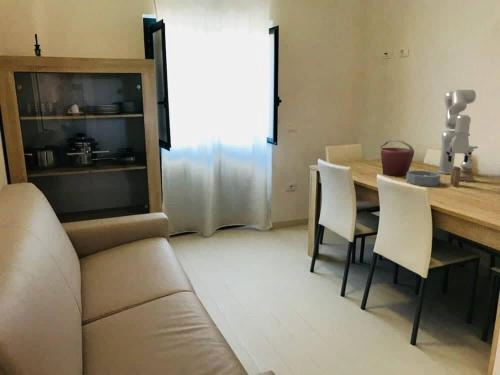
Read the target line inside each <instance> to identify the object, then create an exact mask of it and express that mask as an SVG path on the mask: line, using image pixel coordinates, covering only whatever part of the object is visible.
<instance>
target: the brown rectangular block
mask: <svg viewBox="0 0 500 375" xmlns="http://www.w3.org/2000/svg"><path fill="white" fill-rule="evenodd" d="M461 169H462V167H461V166H460V167H459V166H452V173H451V174H450V182H449V184H450V185H451V186H452V185H453V187H459V185H460V181H459V179H460V173H462V172H461Z"/></svg>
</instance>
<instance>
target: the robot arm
mask: <svg viewBox="0 0 500 375" xmlns="http://www.w3.org/2000/svg"><path fill="white" fill-rule="evenodd" d="M476 98H477V93H476V91H475V90H474V89H456V90H455V91H448V92H446V94H444V103H445V108H446V112H445V122H444V123H445V128H446V129H448V130H446V131H443V132H442V134H441V149H440V150H441V151H440V158H439V166H438V169H436V172H435V173H438V174H440V175H442V174H443V175H451V173H452V166H454V163H455V158H456V154H463V156H464V154H465V156H464V157H463V161H464V162H466V163H467V161H468V156H469V155H470V154H472V153H473V152H474V150H475V149H472V148H470V147H469V145H470V142H469V141H470V140H469V136H471V134H470V127H471V121H472V120H471V117H470V116H469V115H468V114H460V113H463V111H465V110H466V109H467V107H468V106H467V105H469V104H473V103H474V102H475V101H476ZM468 149H469V150H470V152H469V153H468ZM472 155H473V154H472Z"/></svg>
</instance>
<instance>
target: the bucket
mask: <svg viewBox="0 0 500 375" xmlns="http://www.w3.org/2000/svg"><path fill="white" fill-rule="evenodd" d="M390 142H397V143H398V142H399V143H401V144H403V145H405V146H406V147H408V148H405V147H383V146H386V145H387V144H389V143H390ZM380 149H381V150H380V157H381V167H382V175H383V176H388V177H394V178H395V177H396V178H397V177H398V178H402V177H403V178H404V177H406V174H407V172H408V171H410V169H411V165H412V162H413V158H414V156H415V150H414V148H413V147H412V145H410V144H409V143H408V142H405V141H403V140H386V141H385V142H384V143H382V144H381V145H380Z"/></svg>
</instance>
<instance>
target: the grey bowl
mask: <svg viewBox="0 0 500 375" xmlns="http://www.w3.org/2000/svg"><path fill="white" fill-rule="evenodd" d="M405 177H406V178H405V181H406V183H407V184H409V183H410V185H412V184H413V185H412V186H417V185H418V186H420V187H438V186H439V185H440V181H441V173H437V172H434V171H430V170H429V171H428V170H416V169H415V170H409V171H408V172H407V174H406V176H405Z"/></svg>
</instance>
